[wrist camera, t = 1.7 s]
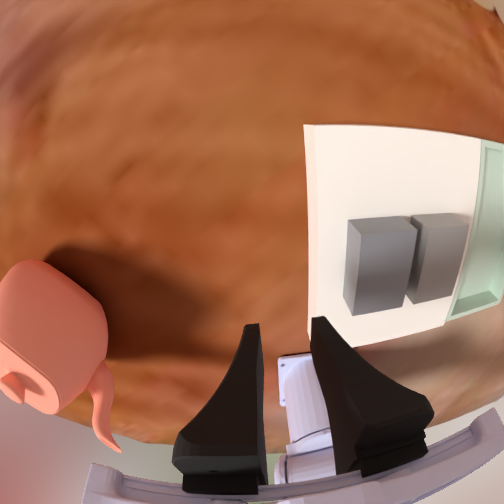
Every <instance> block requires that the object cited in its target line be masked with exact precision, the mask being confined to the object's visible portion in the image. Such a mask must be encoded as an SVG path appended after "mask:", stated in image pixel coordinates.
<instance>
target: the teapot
mask: <svg viewBox="0 0 504 504" xmlns="http://www.w3.org/2000/svg"><path fill="white" fill-rule="evenodd" d="M107 346H108V327H107V321H106V317H105V313H104V311H103V308H102V305H101V304H100V303H99V302H98V301H97V300H96V299H95V298H93V297H92V296H91V295H90V294H89V293H88V292H87V291H85V290H84V289H83V288H82V287H80V286H79V285H78V284H76V283H75V282H74V281H73V280H71V279H70V278H69V277H67V276H66V275H64V274H63V273H61V272H60V271H58V270H57V269H55V268H54V267H52V266H51V265H49V264H47V263H45V262H43V261H40V260H24V261H21V262H18V263H17V264H16V265H15V266H13V267H12V268H11V269H10V270H9V272H8V273H7V274H6V275H5V277H4V278H3V280H2V281H1V283H0V388H1V390H2V391H3V392H4V393H5V394H6V395H7V396H8V397H10V398H11V399H12V400H14V401H15V402H17V403H20V404H23V403H24V401H25V402H27V403H28V404H30V405H31V406H33V407H34V408H36V409H38V410H39V411H41V412H43V413H46V414H55V413H57V412H58V411H60V410H61V409H63V408H64V407H65V406H66V405H68V404H69V403H70V402H71V401H73V400H74V399H75V398H76V397H77V396H79V395H80V394H81V393H82V392H83V391H84V390H85V389H86V388H87V389H88V390H89V392H90V393H91V395H92V397H93V401H94V412H93V429H94V431H95V434H96V435H97V437H98V438H99V439H100V440H101V441H102V442H103V443H105V444H106V445H107V446H109V447H110V448H112V449H113V450H115V451H117V452H119V453H122V450H121V449H120V447H119V446H118V445H117V444H116V442H115V440H114V439H113V437H112V435H111V432H110V426H109V419H110V412H111V407H112V402H113V396H114V382H113V378H112V375H111V372H110V370H109V369H108V367H107V365H106V364H105V362H104V359H105V357H106V353H107Z"/></svg>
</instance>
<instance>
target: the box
mask: <svg viewBox="0 0 504 504" xmlns="http://www.w3.org/2000/svg"><path fill="white" fill-rule="evenodd" d="M465 136H467V135H465ZM469 137H472V136H469ZM474 138H477V137H474ZM478 139H481V153H480V169H479V181H478V190H477V198H476V205H475V211H474V217H473V223H472V228H471V233H470V238H469V243H468V247H467V251H466V256H465V260H464V263H463V267H462V271H461V274H460V278H459V281H458V285H457V288H456V291H455V294H454V297H453V300H452V303H451V306H450V309H449V312H448V314H447V317H446V320H445V322H446V321H449V320H453V319H456V318H459V317H462V316H465V315H468V314H471V313H474V312H477V311H480V310H483V309H485V308H488V307H491V306H494V305H496V304H499V303H500V301H501V299H502V296H503V294H504V143H500V142H495V141H491V140H486V139H482V138H478Z"/></svg>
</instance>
